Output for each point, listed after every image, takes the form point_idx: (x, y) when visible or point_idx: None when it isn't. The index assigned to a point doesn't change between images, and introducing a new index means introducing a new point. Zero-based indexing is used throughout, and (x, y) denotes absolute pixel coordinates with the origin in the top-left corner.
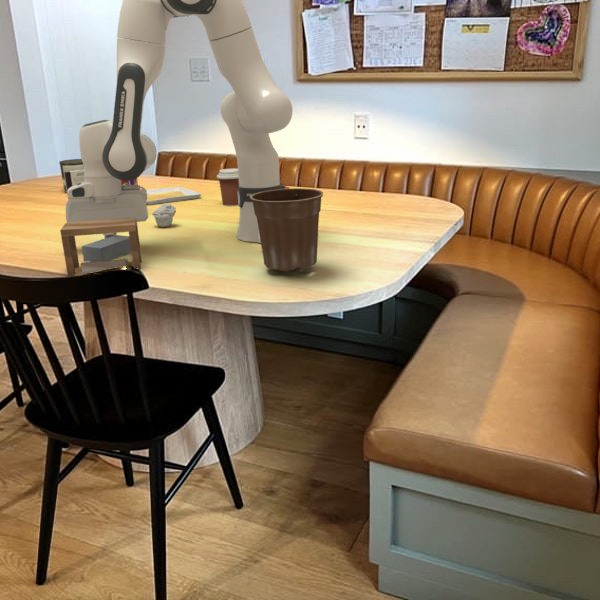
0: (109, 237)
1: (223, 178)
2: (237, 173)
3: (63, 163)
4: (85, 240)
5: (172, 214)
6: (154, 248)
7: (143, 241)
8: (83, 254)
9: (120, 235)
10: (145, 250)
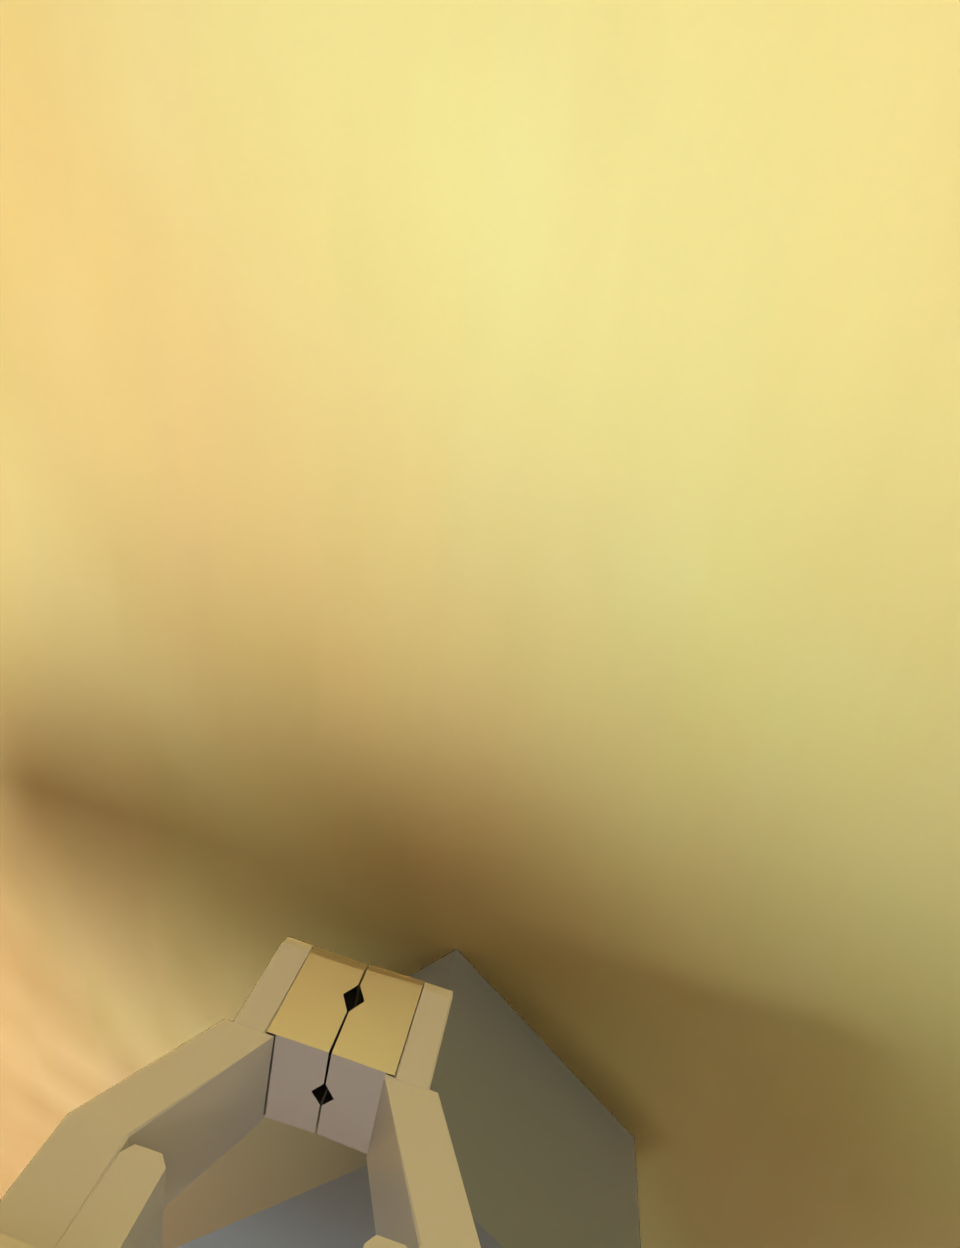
0: (306, 1218)
1: None
2: None
3: None
4: (26, 136)
5: None
6: (873, 1190)
7: (906, 792)
8: None
9: (475, 1226)
10: (742, 1192)
